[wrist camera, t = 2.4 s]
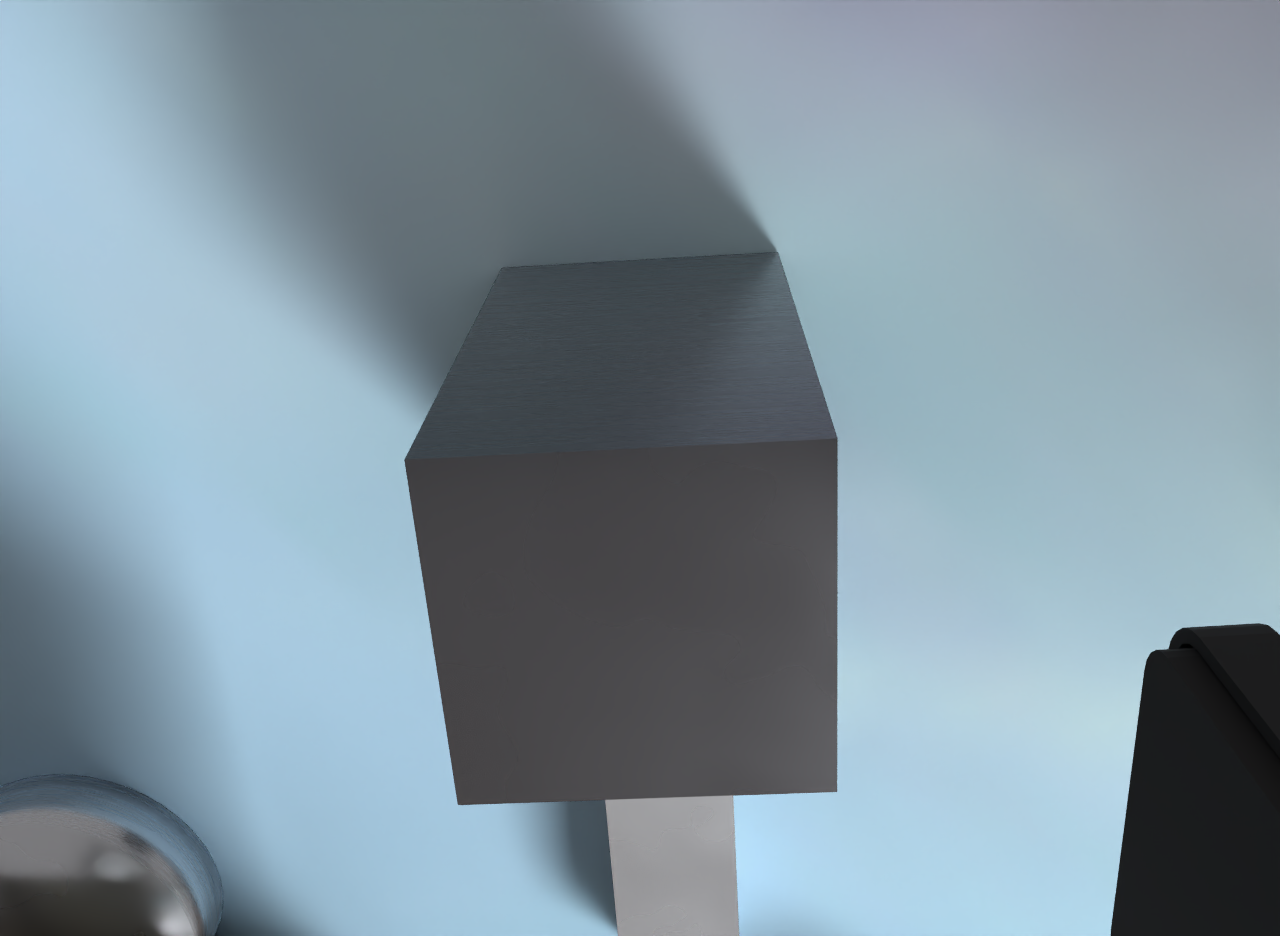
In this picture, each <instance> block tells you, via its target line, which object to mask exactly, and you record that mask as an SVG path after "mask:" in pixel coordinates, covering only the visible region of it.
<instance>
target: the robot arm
mask: <svg viewBox="0 0 1280 936" xmlns="http://www.w3.org/2000/svg"><path fill="white" fill-rule="evenodd" d="M1111 936H1280V635H1279V634H1278V633H1277V632H1276V631H1275V630H1273V629H1272V628H1271V627H1270V626H1268V625H1264V624H1259V623H1258V624H1241V625H1224V626H1207V627H1190V628H1182V629H1180V630H1178V631H1177V632H1176V633H1175V634H1174V636H1173V638H1172V640H1171V641H1170V646H1169V649H1166V650H1155V651H1153V652H1151V653H1150V655H1149V657H1148V659H1147V661H1146V666H1145V670H1144V678H1143V686H1142V694H1141V701H1140V709H1139V717H1138V725H1137V732H1136V740H1135V748H1134V756H1133V763H1132V771H1131V779H1130V787H1129V794H1128V802H1127V810H1126V818H1125V825H1124V833H1123V841H1122V849H1121V856H1120V864H1119V872H1118V880H1117V887H1116V895H1115V903H1114V911H1113V918H1112V926H1111Z"/></svg>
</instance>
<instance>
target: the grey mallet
mask: <svg viewBox="0 0 1280 936" xmlns="http://www.w3.org/2000/svg"><path fill="white" fill-rule="evenodd" d="M405 466H406V473H407V479H408V486H409V492H410V499H411V505H412V512H413V518H414V525H415V531H416V537H417V544H418V550H419V557H420V563H421V570H422V576H423V583H424V589H425V595H426V602H427V608H428V615H429V621H430V628H431V634H432V641H433V647H434V654H435V660H436V666H437V673H438V679H439V686H440V692H441V699H442V705H443V712H444V718H445V724H446V731H447V737H448V744H449V750H450V757H451V763H452V770H453V776H454V783H455V789H456V795H457V802H458V805H473V804H502V803H531V802H559V801H588V800H605V803H606V814H607V824H608V835H609V846H610V856H611V867H612V877H613V888H614V899H615V909H616V920H617V930H618V936H739V925H738V901H737V877H736V853H735V829H734V805H733V795H760V794H788V793H817V792H837V436H836V432H835V429H834V426H833V423H832V420H831V417H830V414H829V410H828V407H827V404H826V401H825V398H824V395H823V392H822V389H821V385H820V382H819V379H818V376H817V373H816V370H815V367H814V364H813V360H812V357H811V354H810V351H809V348H808V345H807V342H806V338H805V335H804V332H803V329H802V326H801V323H800V320H799V317H798V313H797V310H796V307H795V304H794V301H793V298H792V295H791V292H790V288H789V285H788V282H787V279H786V276H785V273H784V270H783V266H782V263H781V260H780V257H779V254H778V252H773V253H755V254H737V255H720V256H702V257H685V258H667V259H650V260H632V261H614V262H597V263H579V264H562V265H544V266H526V267H509V268H502V269H501V271H500V273H499V275H498V277H497V279H496V281H495V283H494V285H493V286H492V288H491V290H490V292H489V294H488V296H487V298H486V300H485V302H484V304H483V306H482V308H481V310H480V312H479V314H478V316H477V318H476V320H475V322H474V324H473V326H472V328H471V330H470V332H469V334H468V336H467V338H466V340H465V342H464V344H463V346H462V348H461V349H460V351H459V353H458V355H457V357H456V359H455V361H454V363H453V365H452V367H451V369H450V371H449V373H448V375H447V377H446V379H445V381H444V383H443V385H442V387H441V389H440V391H439V393H438V395H437V397H436V399H435V401H434V403H433V405H432V407H431V409H430V411H429V412H428V414H427V416H426V418H425V420H424V422H423V424H422V426H421V428H420V430H419V432H418V434H417V436H416V438H415V440H414V442H413V444H412V446H411V448H410V450H409V452H408V454H407V456H406V458H405Z"/></svg>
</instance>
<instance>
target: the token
mask: <svg viewBox="0 0 1280 936" xmlns="http://www.w3.org/2000/svg"><path fill="white" fill-rule="evenodd" d="M222 910H223V890H222V885H221V879H220V876H219V873H218V870H217V868H216V865H215V863H214V861H213V859H212V857H211V855H210V853H209V851H208V850H207V849H206V847H205V846H204V844H203V843H202V841H201V840H200V839H199V837H198V836H197V835H196V834H195V833H194V832H193V831H192V830H191V829H190V827H189V826H188V825H187V824H185V823H184V822H183V821H182V820H181V819H180V818H179V817H178V816H176V815H175V814H174V813H172V812H171V811H170V810H168V809H167V808H165V807H164V806H163V805H161V804H160V803H158V802H156V801H154V800H153V799H151V798H149V797H147V796H146V795H144V794H141V793H139V792H137V791H135V790H132V789H130V788H128V787H125V786H122V785H119V784H116V783H113V782H110V781H106V780H102V779H97V778H93V777H86V776H78V775H44V776H35V777H30V778H26V779H21V780H18V781H15V782H12V783H10V784H7V785H4V786H2V787H0V936H215V933H216V931H217V929H218V926H219V923H220V920H221V916H222Z"/></svg>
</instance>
